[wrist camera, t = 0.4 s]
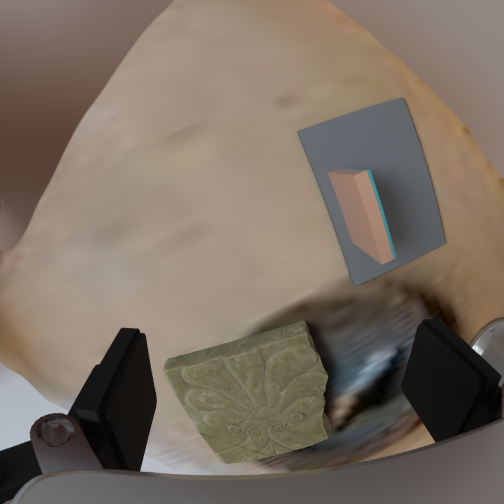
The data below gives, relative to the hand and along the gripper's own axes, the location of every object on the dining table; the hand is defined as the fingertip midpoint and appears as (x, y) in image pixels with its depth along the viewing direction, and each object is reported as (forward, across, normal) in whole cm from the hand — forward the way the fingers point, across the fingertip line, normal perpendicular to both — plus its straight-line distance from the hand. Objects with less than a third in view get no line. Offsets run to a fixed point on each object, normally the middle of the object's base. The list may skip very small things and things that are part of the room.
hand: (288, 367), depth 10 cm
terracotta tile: (+24, -10, -2) cm, 26 cm away
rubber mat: (+24, -14, -4) cm, 29 cm away
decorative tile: (+25, -2, +23) cm, 34 cm away
